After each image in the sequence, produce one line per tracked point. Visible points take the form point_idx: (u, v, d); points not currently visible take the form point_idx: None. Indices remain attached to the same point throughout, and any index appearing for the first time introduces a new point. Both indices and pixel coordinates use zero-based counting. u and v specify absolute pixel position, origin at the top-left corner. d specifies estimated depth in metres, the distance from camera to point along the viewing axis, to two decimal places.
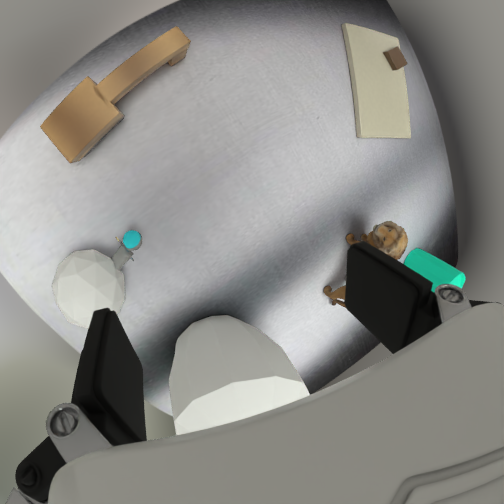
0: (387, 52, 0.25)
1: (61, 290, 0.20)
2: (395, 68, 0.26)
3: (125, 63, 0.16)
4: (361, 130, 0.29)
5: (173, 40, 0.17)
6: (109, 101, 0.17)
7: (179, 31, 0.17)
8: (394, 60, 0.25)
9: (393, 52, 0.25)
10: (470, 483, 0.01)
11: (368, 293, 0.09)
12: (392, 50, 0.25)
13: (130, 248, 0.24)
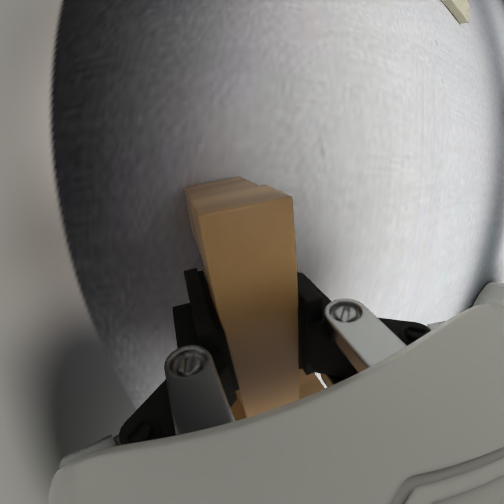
0: None
1: None
2: None
3: (243, 381, 0.08)
4: (462, 13, 0.08)
5: (256, 250, 0.06)
6: None
7: (230, 216, 0.06)
8: None
9: None
10: (470, 483, 0.01)
11: None
12: None
13: None
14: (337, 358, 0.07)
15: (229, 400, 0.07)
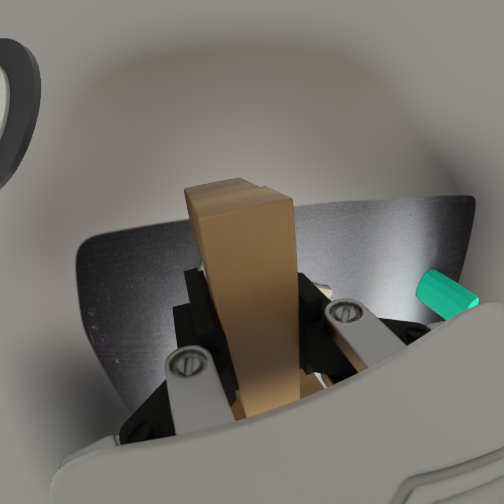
0: None
1: None
2: None
3: (244, 382, 0.08)
4: None
5: (256, 253, 0.06)
6: None
7: (230, 218, 0.06)
8: None
9: None
10: (470, 483, 0.01)
11: None
12: None
13: None
14: (337, 358, 0.07)
15: (229, 400, 0.07)
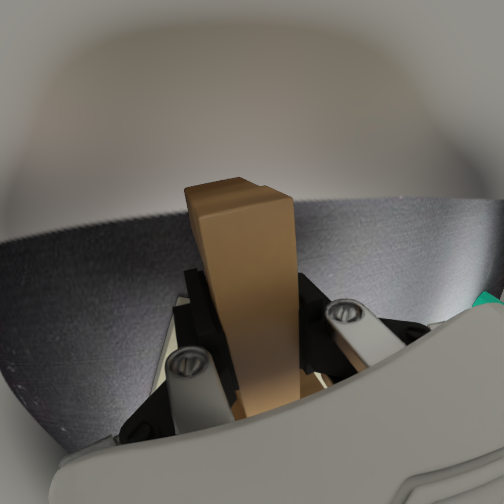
0: None
1: None
2: None
3: (244, 382, 0.08)
4: None
5: (257, 252, 0.06)
6: None
7: (230, 217, 0.06)
8: None
9: None
10: (470, 483, 0.01)
11: None
12: None
13: None
14: (337, 358, 0.07)
15: (229, 400, 0.07)
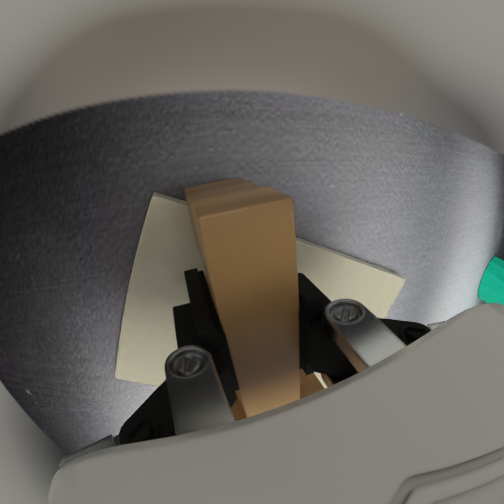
0: None
1: None
2: None
3: (244, 382, 0.08)
4: None
5: (257, 252, 0.06)
6: None
7: (230, 217, 0.06)
8: None
9: None
10: (470, 483, 0.01)
11: None
12: None
13: None
14: (337, 358, 0.07)
15: (229, 400, 0.07)
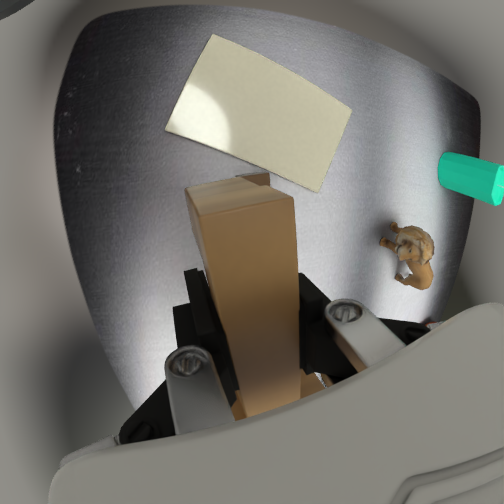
0: None
1: None
2: None
3: (244, 382, 0.08)
4: (311, 189, 0.26)
5: (257, 251, 0.06)
6: None
7: (231, 216, 0.06)
8: None
9: None
10: (470, 483, 0.01)
11: None
12: None
13: None
14: (337, 358, 0.07)
15: (229, 400, 0.07)
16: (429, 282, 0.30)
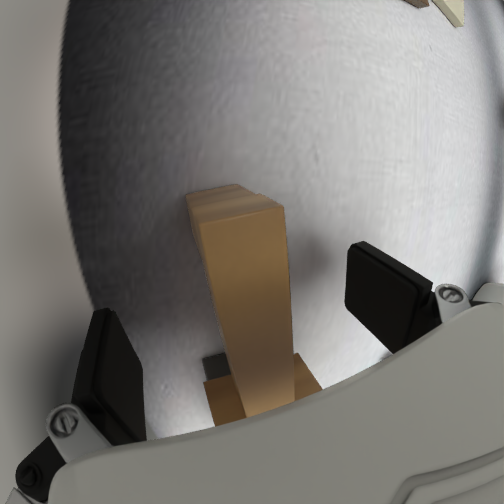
0: None
1: None
2: (424, 5, 0.09)
3: (241, 375, 0.09)
4: (457, 17, 0.09)
5: (251, 255, 0.07)
6: None
7: (227, 224, 0.07)
8: None
9: None
10: (470, 483, 0.01)
11: (368, 293, 0.09)
12: None
13: None
14: None
15: None
16: None
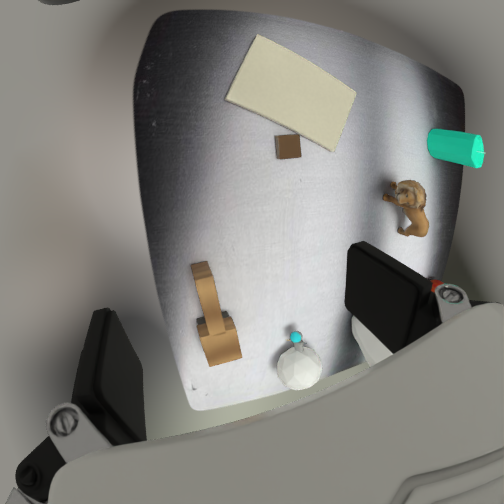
0: (280, 158, 0.32)
1: (293, 385, 0.41)
2: None
3: (206, 317, 0.33)
4: (329, 148, 0.33)
5: (206, 286, 0.32)
6: (225, 331, 0.35)
7: (200, 280, 0.31)
8: (291, 154, 0.32)
9: (283, 150, 0.32)
10: (470, 483, 0.01)
11: (368, 293, 0.09)
12: (280, 149, 0.32)
13: (299, 341, 0.42)
14: None
15: None
16: (426, 229, 0.37)
